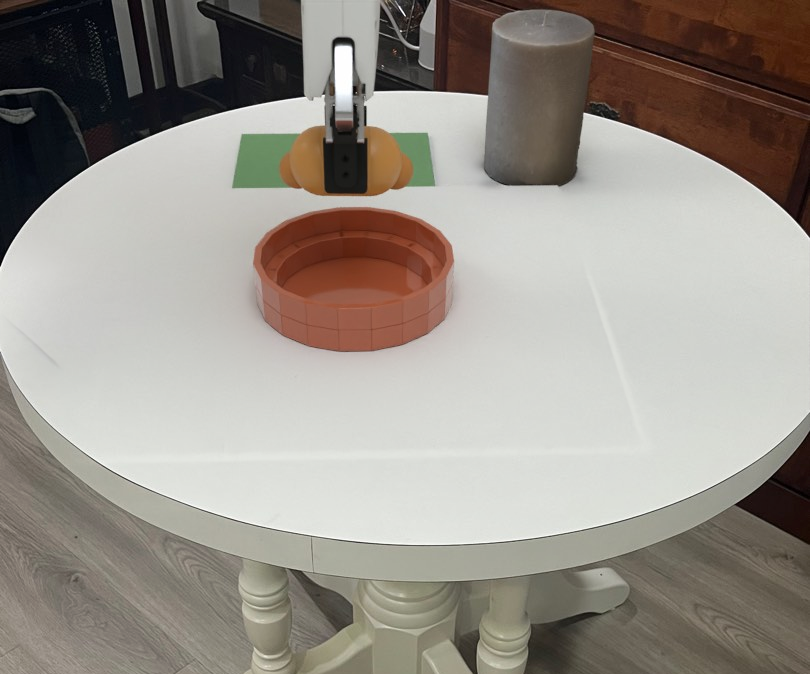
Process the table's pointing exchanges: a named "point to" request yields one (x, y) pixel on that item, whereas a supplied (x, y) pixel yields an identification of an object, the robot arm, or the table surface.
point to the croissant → (383, 163)
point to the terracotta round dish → (354, 278)
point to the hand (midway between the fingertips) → (346, 172)
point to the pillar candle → (537, 96)
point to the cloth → (267, 150)
